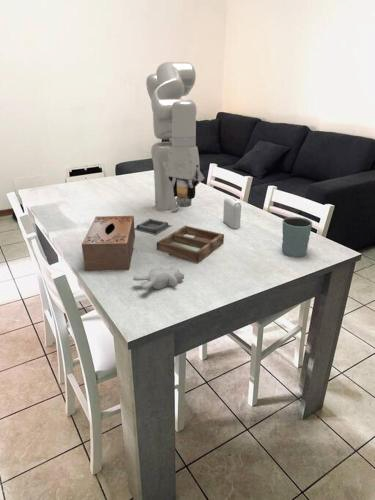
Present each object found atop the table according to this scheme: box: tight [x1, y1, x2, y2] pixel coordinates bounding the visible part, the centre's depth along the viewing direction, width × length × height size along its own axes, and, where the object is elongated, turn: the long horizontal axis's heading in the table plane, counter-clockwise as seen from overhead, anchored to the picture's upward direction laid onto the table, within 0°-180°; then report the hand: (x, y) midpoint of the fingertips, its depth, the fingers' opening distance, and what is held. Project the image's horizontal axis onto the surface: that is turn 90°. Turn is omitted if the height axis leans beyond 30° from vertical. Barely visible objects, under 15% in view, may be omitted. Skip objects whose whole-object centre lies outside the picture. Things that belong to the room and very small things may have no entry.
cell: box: [176, 178, 193, 208], centre depth 124 cm, size 5×5×10 cm
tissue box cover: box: [81, 215, 136, 272], centre depth 131 cm, size 26×14×10 cm, turn 3°
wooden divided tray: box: [156, 225, 225, 264], centre depth 136 cm, size 20×17×4 cm
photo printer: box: [222, 195, 242, 230], centre depth 155 cm, size 10×4×12 cm, turn 20°
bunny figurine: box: [132, 267, 185, 291], centre depth 111 cm, size 10×5×15 cm
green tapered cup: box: [281, 216, 313, 258], centre depth 131 cm, size 10×10×12 cm
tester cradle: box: [134, 218, 173, 236], centre depth 153 cm, size 12×12×2 cm
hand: (184, 196), depth 124 cm, fingers closed on cell, 5 cm apart
